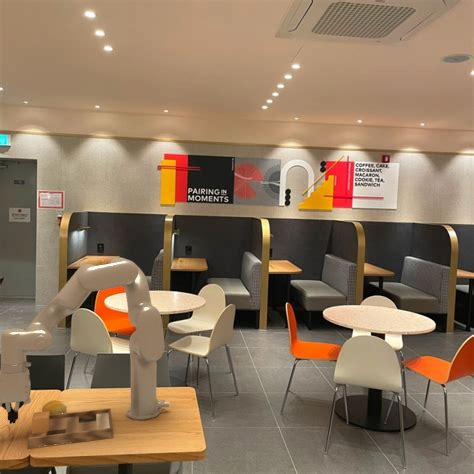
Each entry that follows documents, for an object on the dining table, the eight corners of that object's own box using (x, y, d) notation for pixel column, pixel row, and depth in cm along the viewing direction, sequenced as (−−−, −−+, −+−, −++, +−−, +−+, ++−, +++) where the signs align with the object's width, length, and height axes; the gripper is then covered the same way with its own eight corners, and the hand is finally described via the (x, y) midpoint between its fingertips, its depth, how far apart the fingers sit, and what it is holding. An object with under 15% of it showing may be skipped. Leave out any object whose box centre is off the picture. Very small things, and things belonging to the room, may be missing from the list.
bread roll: (47, 419, 170) (47, 409, 170) (39, 411, 177) (39, 401, 176) (70, 413, 175) (70, 403, 175) (61, 406, 182) (61, 396, 182)
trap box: (110, 416, 172) (110, 408, 172) (112, 437, 156) (112, 428, 156) (33, 425, 165) (33, 416, 164) (27, 448, 148) (27, 438, 148)
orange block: (49, 425, 160) (49, 411, 160) (48, 432, 156) (48, 417, 155) (33, 427, 159) (33, 412, 159) (31, 433, 154) (31, 419, 154)
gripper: (39, 362, 160) (38, 415, 160) (-10, 365, 155) (-10, 419, 156) (36, 369, 152) (36, 424, 153) (-15, 372, 148) (-15, 429, 149)
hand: (12, 421), depth 154 cm, fingers closed
